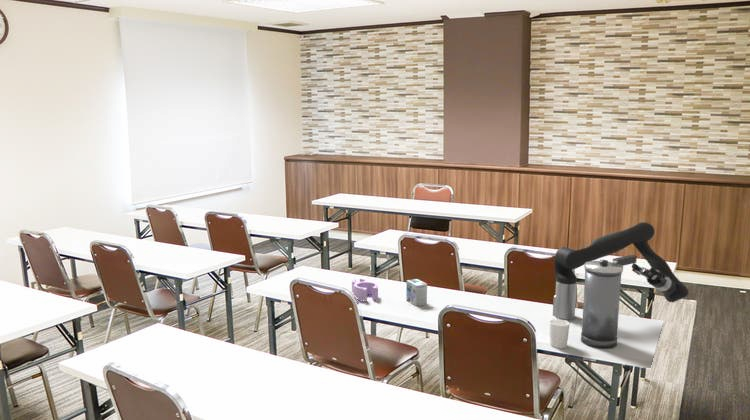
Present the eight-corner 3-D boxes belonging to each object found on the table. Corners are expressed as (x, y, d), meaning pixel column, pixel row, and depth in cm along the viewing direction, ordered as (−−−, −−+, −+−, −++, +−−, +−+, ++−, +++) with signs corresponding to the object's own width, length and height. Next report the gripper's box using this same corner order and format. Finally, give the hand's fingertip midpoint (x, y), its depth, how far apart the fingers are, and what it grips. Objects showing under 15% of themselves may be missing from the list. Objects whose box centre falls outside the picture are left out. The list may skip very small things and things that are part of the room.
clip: (346, 292, 323) (346, 280, 322) (367, 289, 328) (367, 277, 326) (360, 303, 305) (360, 290, 303) (382, 300, 309) (382, 287, 308)
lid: (576, 267, 250) (577, 259, 249) (618, 258, 264) (618, 250, 264) (607, 275, 237) (608, 267, 237) (649, 265, 252) (650, 257, 251)
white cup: (546, 346, 248) (547, 323, 246) (550, 340, 255) (551, 318, 253) (566, 350, 244) (567, 327, 242) (569, 343, 251) (571, 321, 249)
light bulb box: (405, 300, 309) (406, 280, 307) (417, 298, 312) (417, 278, 310) (415, 306, 300) (416, 285, 298) (427, 304, 302) (427, 283, 301)
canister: (573, 340, 255) (577, 267, 249) (595, 333, 262) (599, 262, 257) (602, 351, 243) (607, 275, 237) (624, 344, 250) (629, 270, 245)
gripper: (647, 269, 277) (630, 256, 269) (677, 276, 265) (660, 263, 257) (641, 284, 276) (624, 271, 268) (671, 291, 265) (653, 278, 256)
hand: (641, 267), depth 262 cm, fingers open, 8 cm apart
